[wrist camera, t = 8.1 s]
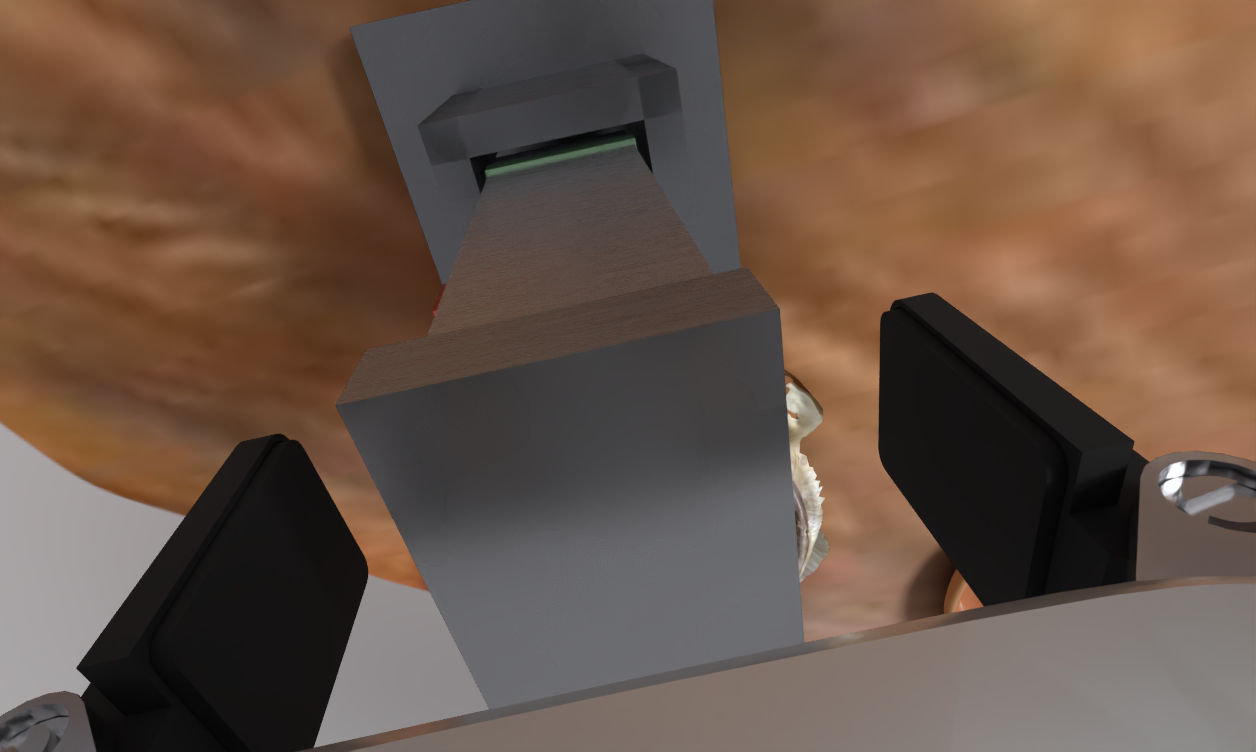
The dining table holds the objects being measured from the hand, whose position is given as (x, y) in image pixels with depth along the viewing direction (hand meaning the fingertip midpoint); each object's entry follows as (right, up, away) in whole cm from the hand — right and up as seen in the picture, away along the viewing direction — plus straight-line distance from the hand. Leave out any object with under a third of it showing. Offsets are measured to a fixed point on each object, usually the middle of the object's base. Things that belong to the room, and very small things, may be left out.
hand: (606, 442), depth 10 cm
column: (-2, +7, +12) cm, 14 cm away
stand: (-2, +11, +19) cm, 22 cm away
